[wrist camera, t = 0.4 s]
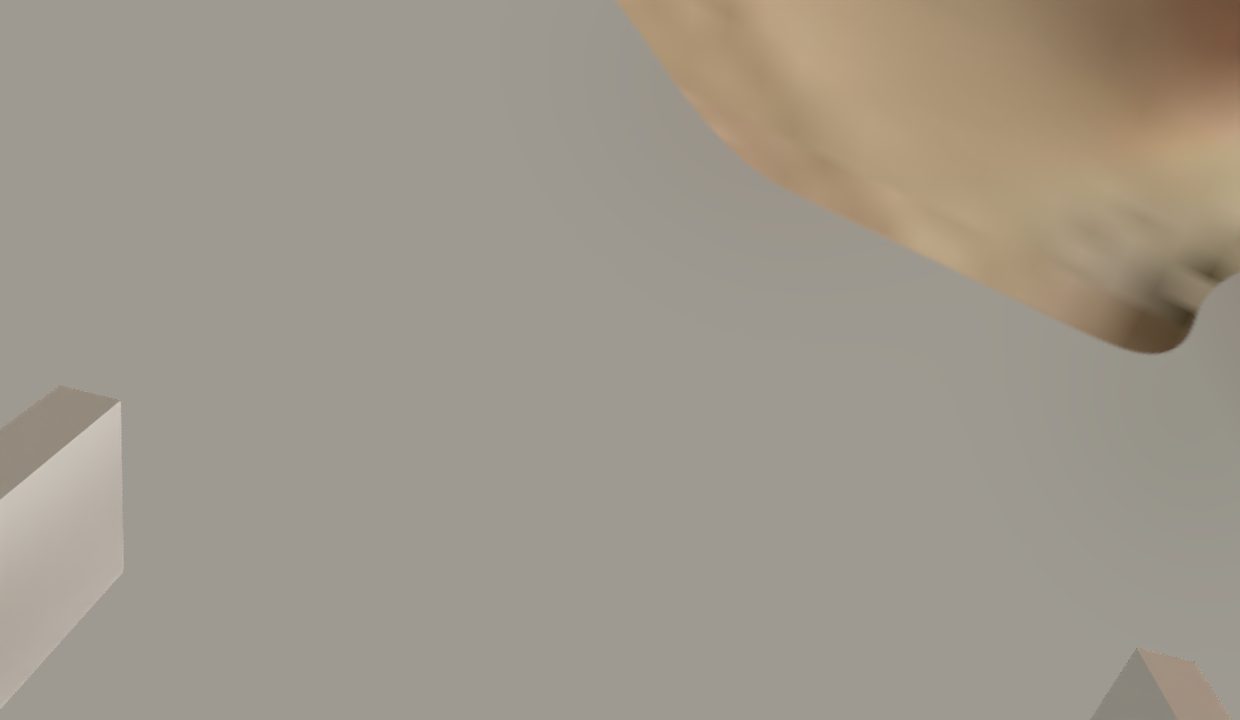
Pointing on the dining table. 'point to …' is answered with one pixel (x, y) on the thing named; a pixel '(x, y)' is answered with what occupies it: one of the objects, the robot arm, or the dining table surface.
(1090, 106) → the dining table surface
